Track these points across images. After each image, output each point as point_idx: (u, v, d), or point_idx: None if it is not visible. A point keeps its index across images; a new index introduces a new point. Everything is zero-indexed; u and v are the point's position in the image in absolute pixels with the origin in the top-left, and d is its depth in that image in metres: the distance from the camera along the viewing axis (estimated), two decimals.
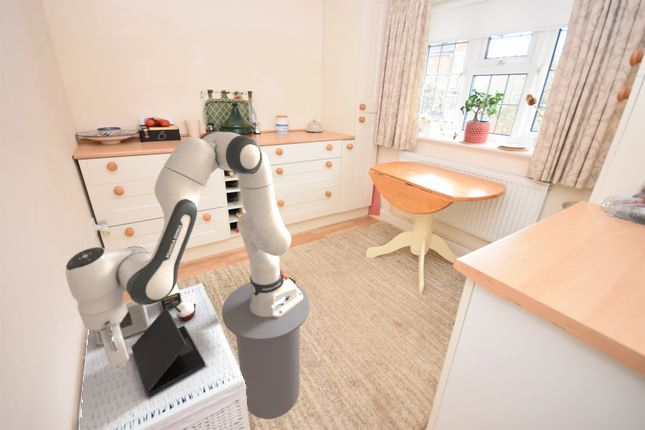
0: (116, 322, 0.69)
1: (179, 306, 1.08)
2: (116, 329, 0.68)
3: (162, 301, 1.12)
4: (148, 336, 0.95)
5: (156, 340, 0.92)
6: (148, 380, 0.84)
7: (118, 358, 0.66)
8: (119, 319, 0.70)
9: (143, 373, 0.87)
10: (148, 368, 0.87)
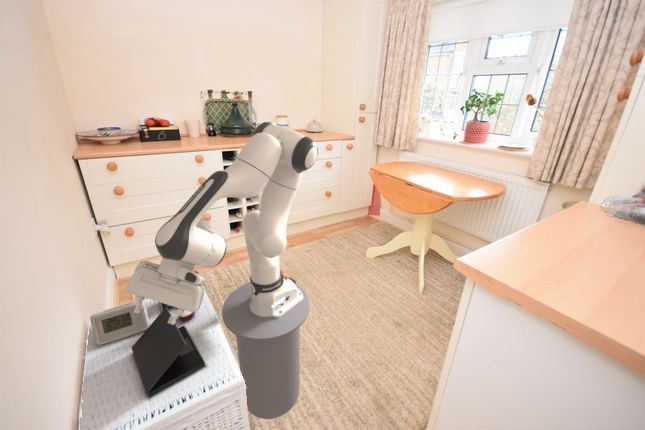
0: (157, 270, 0.81)
1: None
2: (150, 269, 0.82)
3: None
4: (148, 336, 0.95)
5: (156, 340, 0.92)
6: (148, 380, 0.84)
7: None
8: (157, 269, 0.81)
9: (143, 373, 0.87)
10: (148, 368, 0.87)
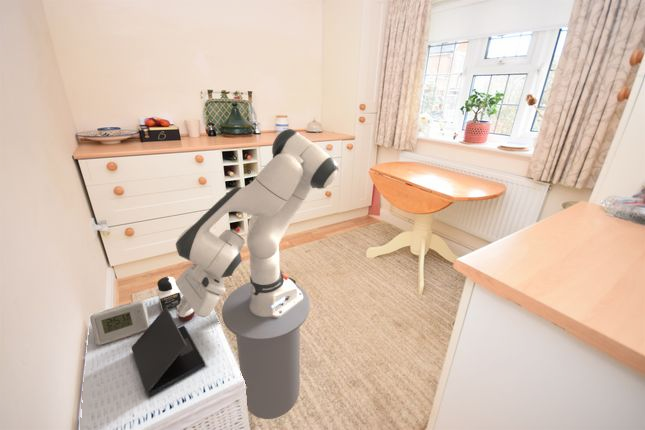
0: None
1: None
2: (193, 270, 0.96)
3: (162, 301, 1.12)
4: (148, 336, 0.95)
5: (156, 340, 0.92)
6: (148, 380, 0.84)
7: None
8: None
9: (143, 373, 0.87)
10: (148, 368, 0.87)
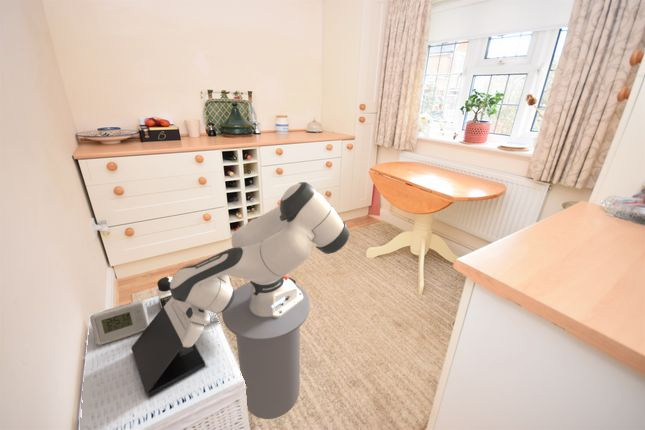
0: None
1: None
2: None
3: (162, 301, 1.12)
4: (147, 336, 0.94)
5: (155, 340, 0.91)
6: (147, 380, 0.84)
7: None
8: None
9: (143, 373, 0.86)
10: (147, 368, 0.87)
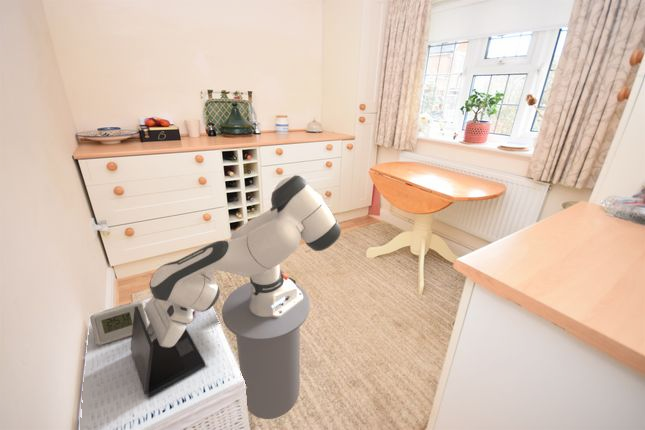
0: None
1: None
2: None
3: None
4: (134, 338, 0.92)
5: (138, 342, 0.88)
6: (143, 382, 0.83)
7: None
8: None
9: (140, 375, 0.86)
10: (140, 370, 0.85)
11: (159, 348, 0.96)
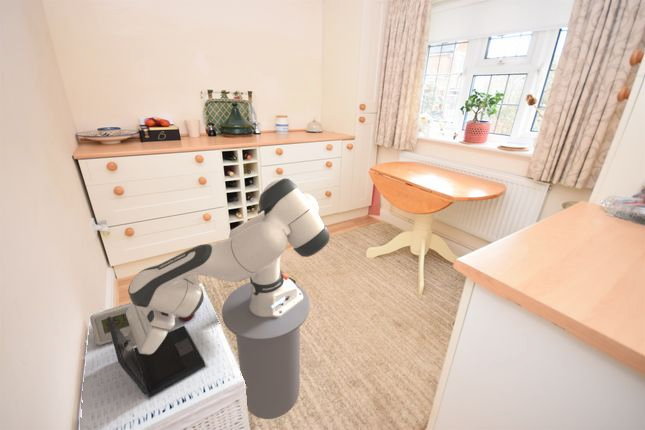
0: None
1: None
2: None
3: None
4: None
5: None
6: None
7: None
8: None
9: None
10: None
11: (159, 348, 0.96)
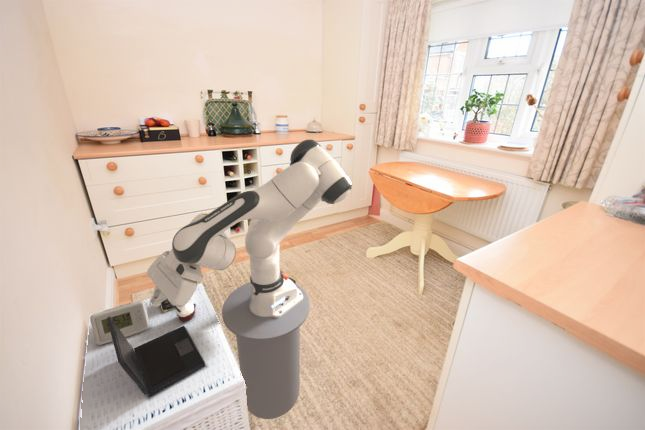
0: None
1: None
2: (166, 257, 0.89)
3: None
4: None
5: None
6: None
7: None
8: None
9: None
10: None
11: (159, 348, 0.96)
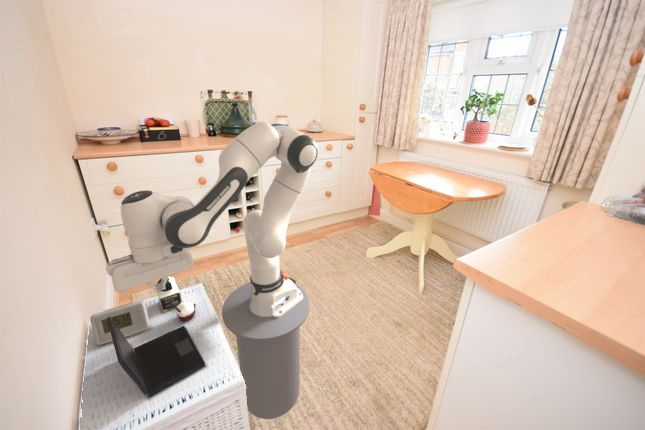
0: (135, 261, 0.77)
1: (179, 306, 1.08)
2: (126, 264, 0.76)
3: (162, 301, 1.12)
4: None
5: None
6: None
7: None
8: (137, 261, 0.76)
9: None
10: None
11: (159, 348, 0.96)
